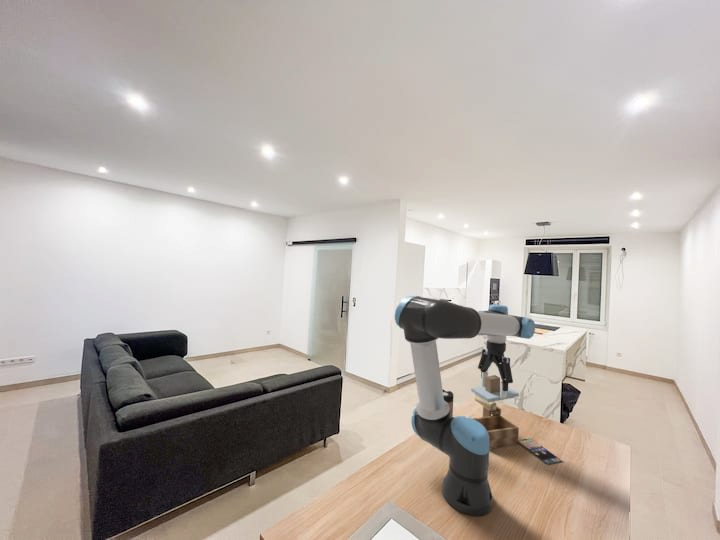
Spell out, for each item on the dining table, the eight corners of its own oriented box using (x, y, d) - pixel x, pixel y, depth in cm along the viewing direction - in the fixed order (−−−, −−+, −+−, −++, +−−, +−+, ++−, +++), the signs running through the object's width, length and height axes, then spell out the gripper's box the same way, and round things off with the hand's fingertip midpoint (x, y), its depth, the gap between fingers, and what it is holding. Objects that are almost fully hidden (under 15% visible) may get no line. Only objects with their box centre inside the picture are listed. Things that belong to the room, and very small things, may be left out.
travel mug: (438, 445, 123) (441, 397, 123) (429, 435, 131) (431, 389, 130) (455, 443, 126) (457, 396, 125) (445, 433, 133) (447, 388, 132)
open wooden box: (486, 449, 122) (487, 426, 122) (463, 429, 137) (464, 408, 136) (519, 443, 127) (520, 421, 127) (493, 424, 142) (494, 404, 141)
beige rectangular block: (490, 411, 137) (491, 403, 137) (474, 400, 148) (475, 393, 148) (496, 410, 138) (496, 403, 138) (479, 399, 149) (480, 392, 149)
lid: (488, 404, 122) (488, 384, 122) (471, 393, 132) (471, 374, 132) (518, 398, 126) (519, 379, 126) (500, 387, 137) (500, 370, 136)
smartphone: (546, 466, 114) (547, 463, 114) (515, 443, 128) (516, 440, 128) (563, 463, 116) (563, 460, 116) (530, 440, 131) (531, 437, 131)
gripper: (525, 348, 119) (521, 403, 119) (485, 334, 141) (482, 381, 141) (510, 348, 116) (506, 405, 117) (471, 334, 139) (468, 382, 139)
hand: (493, 392), depth 129 cm, fingers closed on lid, 11 cm apart
